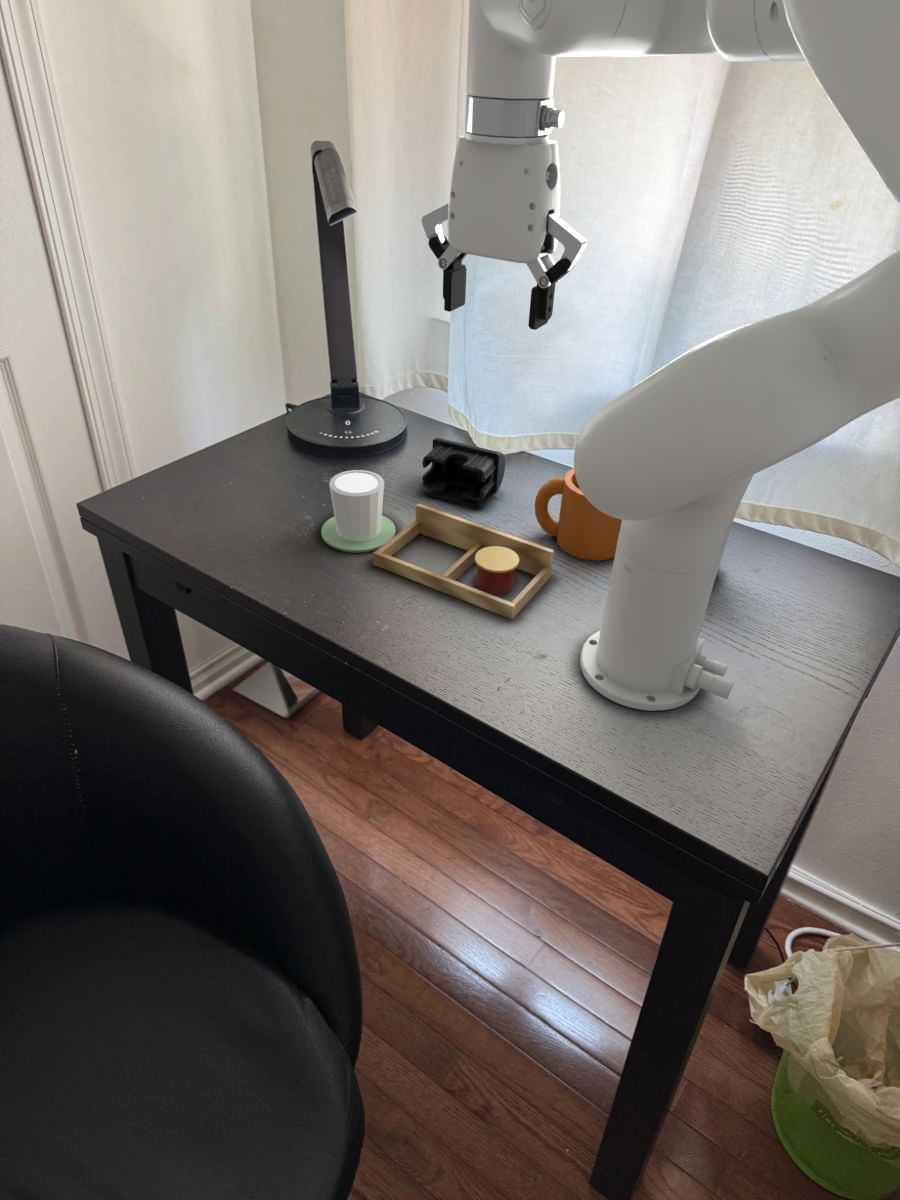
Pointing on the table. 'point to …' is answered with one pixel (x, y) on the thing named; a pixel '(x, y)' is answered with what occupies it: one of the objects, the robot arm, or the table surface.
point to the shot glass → (357, 504)
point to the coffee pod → (496, 569)
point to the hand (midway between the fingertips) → (495, 316)
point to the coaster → (342, 544)
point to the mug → (577, 521)
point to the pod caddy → (466, 558)
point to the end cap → (462, 473)
